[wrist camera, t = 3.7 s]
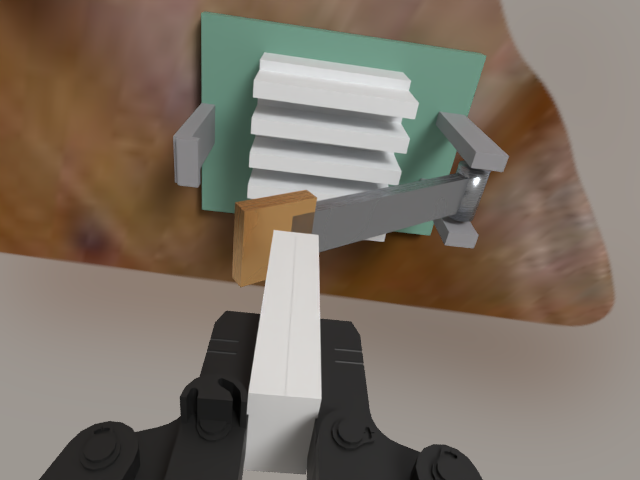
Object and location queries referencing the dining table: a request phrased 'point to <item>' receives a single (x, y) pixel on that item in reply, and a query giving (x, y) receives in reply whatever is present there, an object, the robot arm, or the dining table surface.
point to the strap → (349, 216)
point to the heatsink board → (328, 116)
